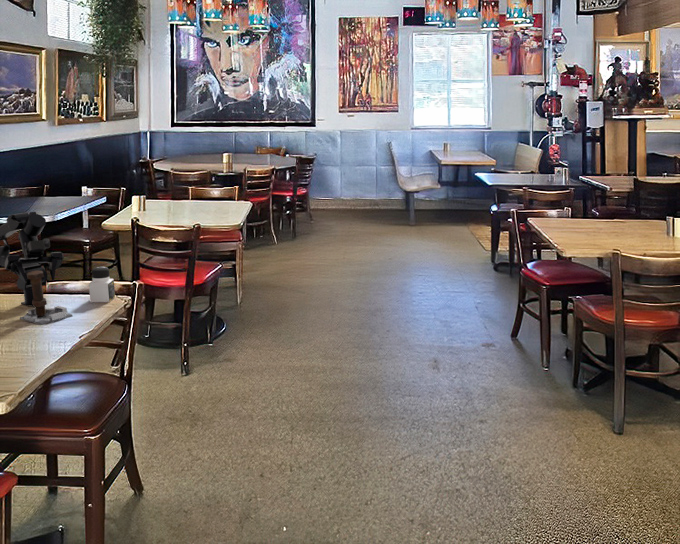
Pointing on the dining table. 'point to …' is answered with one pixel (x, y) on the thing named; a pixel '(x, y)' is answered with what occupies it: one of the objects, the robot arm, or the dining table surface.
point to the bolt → (37, 292)
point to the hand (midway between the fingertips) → (40, 281)
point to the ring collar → (46, 315)
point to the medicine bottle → (101, 285)
